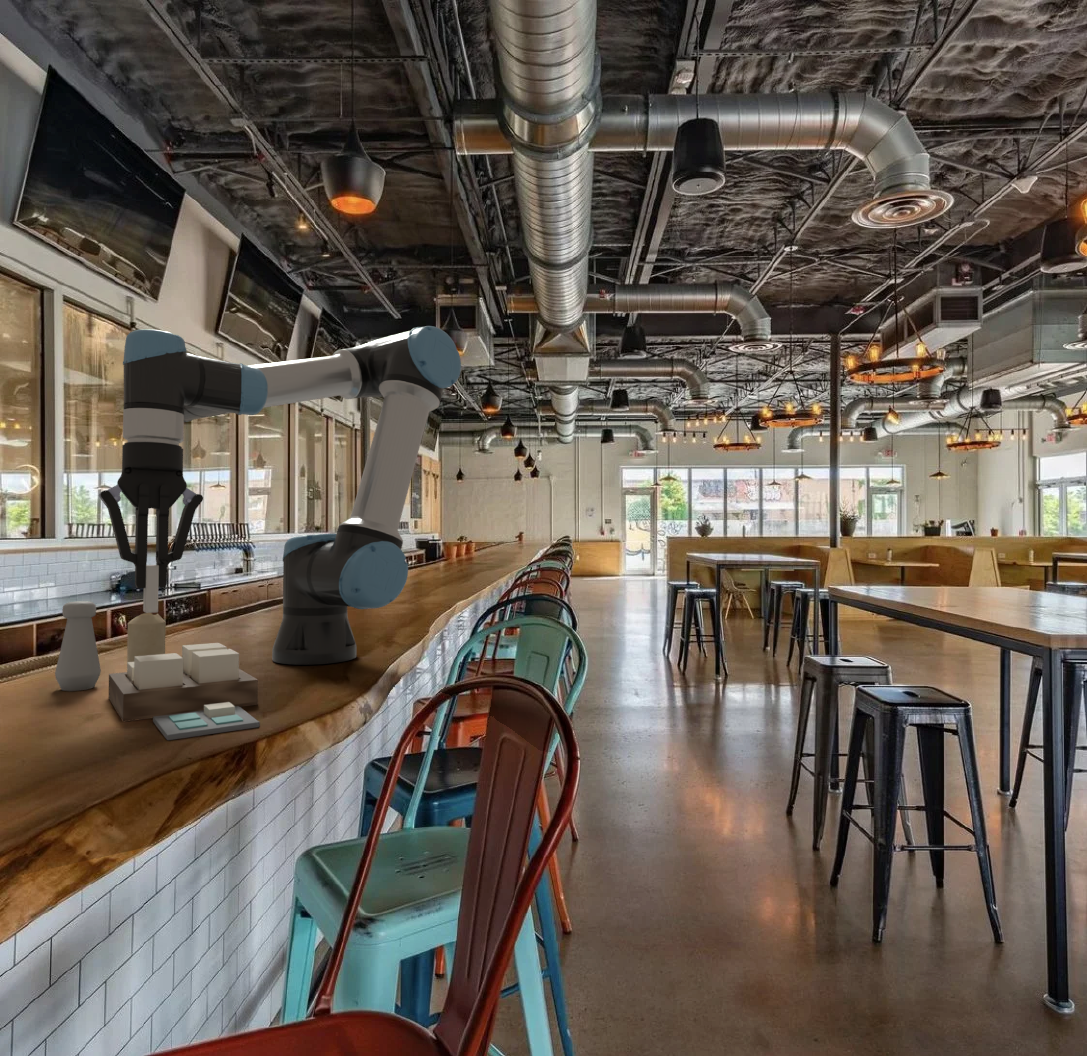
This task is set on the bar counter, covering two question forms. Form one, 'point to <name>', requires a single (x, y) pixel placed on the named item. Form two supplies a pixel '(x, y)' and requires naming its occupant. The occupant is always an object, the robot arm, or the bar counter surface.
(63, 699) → the bar counter surface
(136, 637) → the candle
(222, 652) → the button
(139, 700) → the button board
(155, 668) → the button
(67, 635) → the salt shaker
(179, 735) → the card
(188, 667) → the back left button
